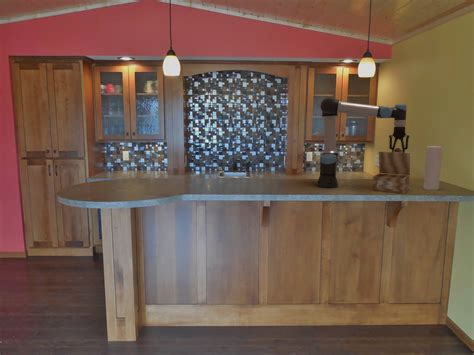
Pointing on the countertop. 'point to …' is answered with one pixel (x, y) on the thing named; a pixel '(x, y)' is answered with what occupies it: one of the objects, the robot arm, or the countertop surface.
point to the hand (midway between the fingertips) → (397, 159)
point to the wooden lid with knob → (394, 162)
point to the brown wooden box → (391, 183)
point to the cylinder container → (432, 167)
